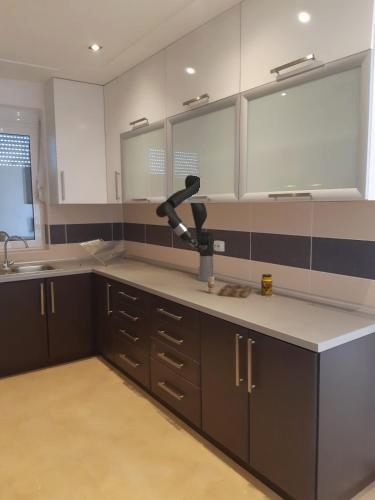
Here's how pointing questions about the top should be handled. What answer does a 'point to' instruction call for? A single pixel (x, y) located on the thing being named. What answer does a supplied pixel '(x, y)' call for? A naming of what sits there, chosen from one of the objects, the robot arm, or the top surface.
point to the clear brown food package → (236, 291)
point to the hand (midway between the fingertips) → (201, 252)
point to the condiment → (266, 285)
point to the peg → (211, 284)
